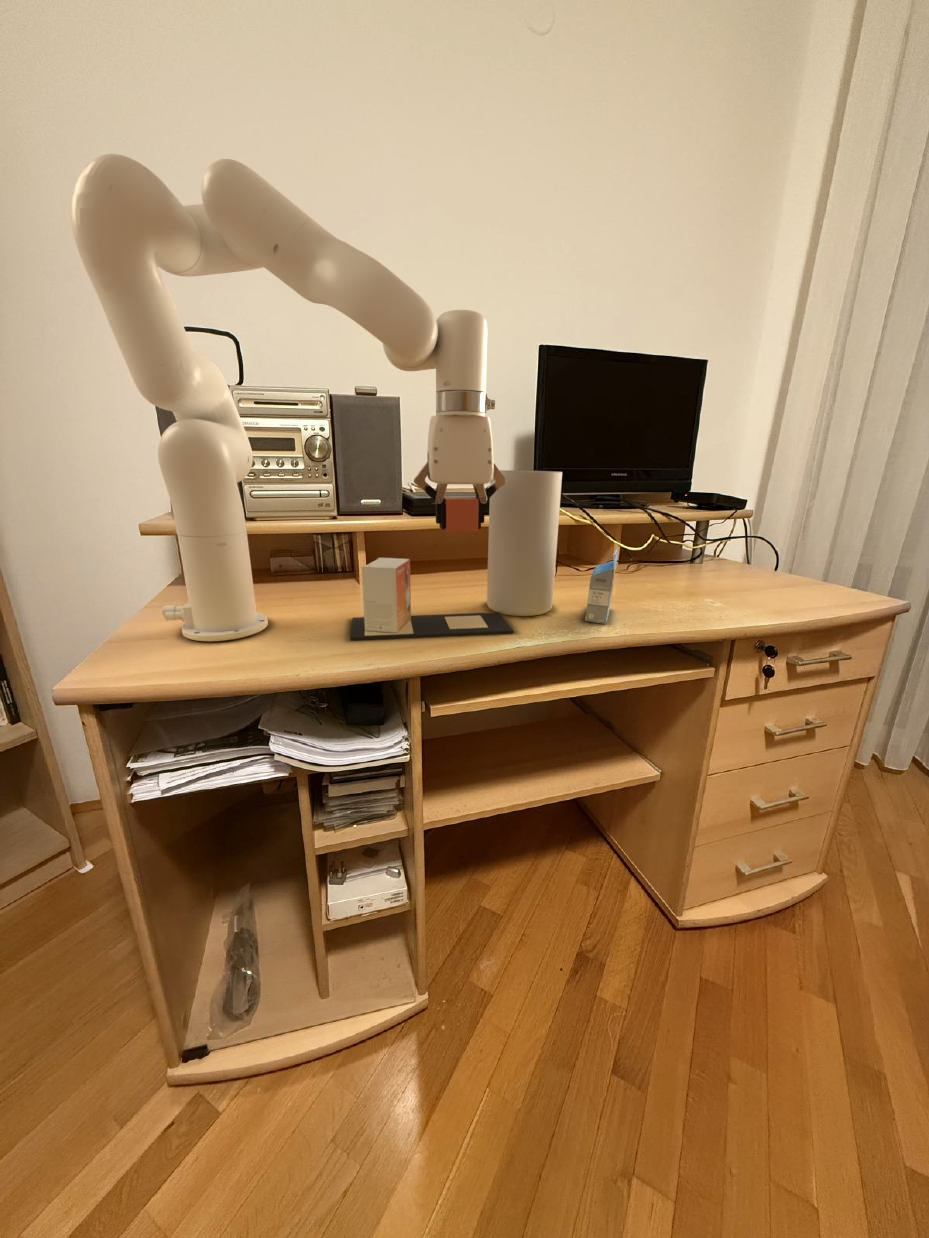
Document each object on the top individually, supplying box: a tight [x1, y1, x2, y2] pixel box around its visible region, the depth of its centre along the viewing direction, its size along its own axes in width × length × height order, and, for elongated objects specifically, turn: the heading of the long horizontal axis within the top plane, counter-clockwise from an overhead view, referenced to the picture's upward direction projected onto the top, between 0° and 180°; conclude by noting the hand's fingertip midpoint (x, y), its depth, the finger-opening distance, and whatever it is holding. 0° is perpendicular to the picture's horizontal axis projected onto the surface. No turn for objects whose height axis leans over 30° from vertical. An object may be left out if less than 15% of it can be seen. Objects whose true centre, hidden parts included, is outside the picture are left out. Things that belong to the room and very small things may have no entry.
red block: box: [444, 496, 479, 533], centre depth 79 cm, size 5×5×5 cm
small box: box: [361, 557, 412, 633], centre depth 79 cm, size 8×6×10 cm
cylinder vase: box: [486, 469, 563, 617], centre depth 90 cm, size 12×12×25 cm
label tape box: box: [584, 546, 619, 625], centre depth 87 cm, size 9×4×12 cm, turn 161°
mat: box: [349, 611, 514, 641], centre depth 82 cm, size 26×10×1 cm, turn 100°
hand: (459, 526), depth 80 cm, fingers closed on red block, 5 cm apart
